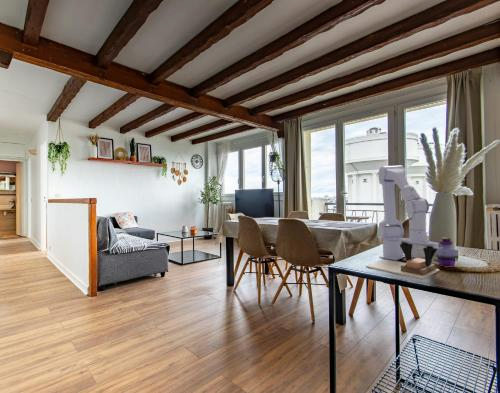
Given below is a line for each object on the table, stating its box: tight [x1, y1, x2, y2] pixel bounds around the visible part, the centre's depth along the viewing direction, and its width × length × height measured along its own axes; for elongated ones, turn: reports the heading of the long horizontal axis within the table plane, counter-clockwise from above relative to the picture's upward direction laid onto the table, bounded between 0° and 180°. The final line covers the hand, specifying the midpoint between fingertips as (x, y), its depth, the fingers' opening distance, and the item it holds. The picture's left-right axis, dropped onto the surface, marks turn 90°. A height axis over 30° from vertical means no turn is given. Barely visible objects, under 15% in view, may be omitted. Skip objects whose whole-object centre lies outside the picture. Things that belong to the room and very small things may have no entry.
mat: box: [365, 259, 440, 280], centre depth 114 cm, size 16×22×1 cm
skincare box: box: [411, 231, 428, 259], centre depth 131 cm, size 6×4×12 cm
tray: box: [401, 263, 437, 276], centre depth 109 cm, size 12×8×2 cm, turn 127°
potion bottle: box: [435, 236, 459, 267], centre depth 115 cm, size 9×9×12 cm
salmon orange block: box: [406, 258, 427, 269], centre depth 109 cm, size 4×8×4 cm, turn 119°
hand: (418, 263), depth 109 cm, fingers open, 7 cm apart
